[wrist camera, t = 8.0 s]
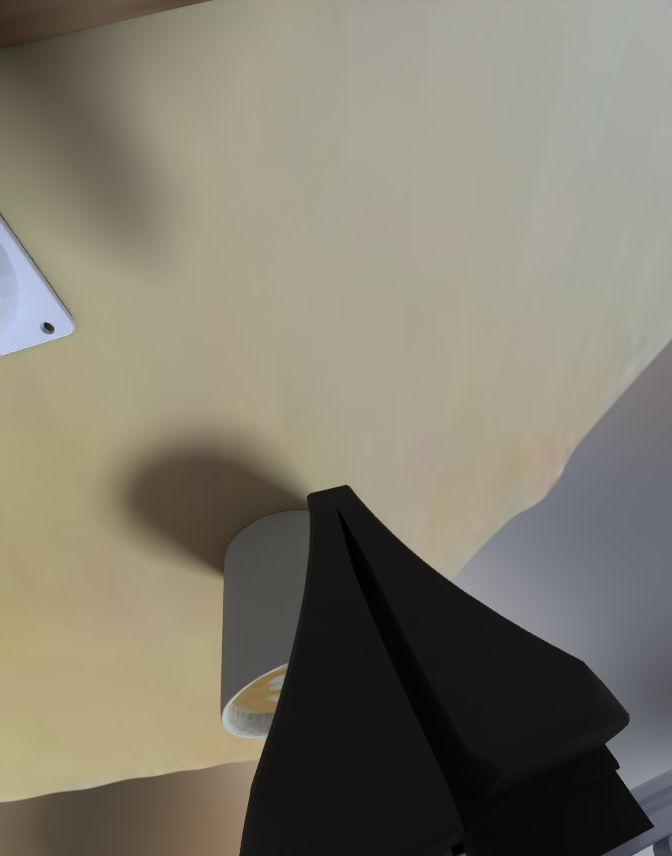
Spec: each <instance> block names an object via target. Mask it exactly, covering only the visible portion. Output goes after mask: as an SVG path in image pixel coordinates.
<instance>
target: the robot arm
mask: <svg viewBox="0 0 672 856" xmlns="http://www.w3.org/2000/svg"><path fill="white" fill-rule="evenodd" d="M44 322H47V323H50V324H51V325H52V326H53V327H54V329H55V331H54V332H51V331H48V330H47V329H46V328H45V326H44ZM75 328H76V327H75V322H74V320H73V318H72V317H71V315H70V314H69V312H68V311H67V310H66V308H65V307H64V305H63V304H62V302H61V301H60V300H59V298H58V297H57V295H56V294H55V293H54V291H53V290H52V288H51V287H50V285H49V284H48V283H47V281H46V280H45V278H44V277H43V275H42V274H41V273H40V271H39V270H38V268H37V267H36V265H35V264H34V263H33V261H32V260H31V258H30V257H29V256H28V254H27V253H26V251H25V250H24V248H23V247H22V246H21V244H20V243H19V241H18V240H17V238H16V237H15V236H14V234H13V233H12V231H11V230H10V228H9V227H8V226H7V224H6V223H5V221H4V220H3V219H2V217H1V216H0V356H2V355H5V354H8V353H11V352H15V351H18V350H21V349H24V348H28V347H31V346H34V345H37V344H41V343H44V342H47V341H50V340H54V339H57V338H60V337H63V336H67V335H69V334H70V333H72V332H73V331H74V330H75ZM307 502H308V508H309V514H310V540H309V556H308V564H307V573H306V581H305V588H304V594H303V600H302V605H301V610H300V616H299V621H298V625H297V630H296V634H295V639H294V643H293V648H292V652H291V656H290V660H289V664H288V668H287V671H286V675H285V678H284V682H283V685H282V689H281V693H280V696H279V700H278V703H277V707H276V710H275V714H274V717H273V720H272V724H271V727H270V730H269V733H268V736H267V739H266V742H265V745H264V748H263V751H262V754H261V758H260V761H259V764H258V767H257V770H256V773H255V776H254V779H253V782H252V785H251V790H250V797H249V802H248V807H247V812H246V818H245V823H244V829H243V835H242V840H241V847H240V854H239V856H632V855H634V854H636V853H638V852H639V851H641V850H643V849H645V848H647V847H649V846H650V845H652V844H653V851H654V855H655V856H672V769H671V770H669V771H667V772H665V773H663V774H661V775H659V776H657V777H655V778H653V779H651V780H649V781H647V782H645V783H643V784H641V785H639V786H637V787H635V788H633V789H631V790H629V789H628V788H627V787H626V785H625V784H624V782H623V781H622V780H621V778H620V777H619V775H618V774H617V772H616V770H617V769H619V768H620V767H619V764H618V762H617V760H616V759H615V758H614V756H613V755H612V753H611V752H610V751H609V749H608V748H607V746H606V745H605V743H606V742H608V741H609V740H610V739H611V738H613V737H614V736H615V735H616V734H618V733H619V732H620V731H621V730H623V729H624V728H625V727H626V726H627V725H628V723H629V714H628V713H627V711H626V710H625V709H624V708H623V706H622V705H621V704H620V703H619V702H618V700H617V699H616V698H615V697H614V695H613V694H612V693H611V692H610V690H609V689H608V688H607V687H606V686H605V685H604V683H603V682H602V681H601V680H600V679H599V678H598V677H597V676H596V675H595V674H594V673H593V672H592V671H591V670H590V669H589V667H588V666H587V665H586V664H585V663H584V662H583V661H581V660H579V659H578V658H576V657H574V656H572V655H570V654H568V653H566V652H564V651H562V650H561V649H559V648H557V647H555V646H553V645H551V644H549V643H548V642H546V641H544V640H542V639H540V638H539V637H537V636H535V635H533V634H532V633H530V632H528V631H526V630H525V629H523V628H521V627H520V626H518V625H516V624H514V623H513V622H511V621H510V620H508V619H506V618H504V617H503V616H501V615H500V614H498V613H497V612H495V611H493V610H492V609H490V608H489V607H487V606H486V605H484V604H483V603H481V602H480V601H478V600H476V599H475V598H474V597H472V596H471V595H469V594H467V593H466V592H464V591H463V590H461V589H460V588H459V587H457V586H456V585H454V584H453V583H452V582H450V581H449V580H448V579H446V578H445V577H444V576H442V575H441V574H440V573H438V572H437V571H436V570H435V569H433V568H432V567H431V566H429V565H428V564H427V563H426V562H424V561H423V560H422V559H421V558H420V557H418V556H417V555H416V554H415V553H414V552H413V551H411V550H410V549H409V548H408V547H407V546H406V545H405V544H403V543H402V542H401V541H400V540H399V539H398V538H397V537H396V536H395V535H394V534H393V533H392V532H391V531H390V530H389V529H388V528H387V527H386V526H385V525H384V524H383V523H382V522H381V521H380V520H379V519H378V518H377V517H376V516H375V515H374V514H373V513H372V512H371V511H370V510H369V509H368V508H367V507H366V506H365V504H364V503H363V502H362V501H361V500H360V499H359V497H358V496H357V495H356V494H355V493H354V491H353V490H352V489H351V487H350V486H348V485H343V486H339V487H335V488H331V489H327V490H323V491H318V492H314V493H310V494H309V495H308V496H307Z"/></svg>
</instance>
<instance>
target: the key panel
mask: <svg viewBox="0 0 672 856" xmlns="http://www.w3.org/2000/svg"><path fill="white" fill-rule="evenodd" d="M206 1H210V0H0V48H2V47H7V46H11V45H15V44H20V43H24V42H29V41H33V40H37V39H42V38H46V37H51V36H55V35H60V34H64V33H68V32H73V31H77V30H82V29H86V28H91V27H95V26H99V25H104V24H108V23H113V22H117V21H122V20H126V19H130V18H135V17H139V16H144V15H148V14H152V13H157V12H161V11H166V10H170V9H175V8H179V7H183V6H188V5H192V4H197V3H201V2H206Z"/></svg>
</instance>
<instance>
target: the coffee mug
mask: <svg viewBox="0 0 672 856" xmlns="http://www.w3.org/2000/svg"><path fill="white" fill-rule="evenodd" d="M309 540H310V514H309V511H308V510H291V511H284V512H279V513H274V514H271V515H269V516H266V517H263V518H261V519H259V520H257V521H255V522H253V523H252V524H250V525H248V526H247V527H245V528H244V529H243V530H242V531H240V532H239V533H238V534H237V535H236V536H235V538H234V539H233V540H232V542H231V543H230V544H229V546H228V548H227V551H226V553H225V558H224V592H223V631H222V669H221V722H222V725H223V727H224V728H225V729H226V730H227V731H228V732H229V733H231V734H234V735H236V736H240V737H245V738H267V736H268V733H269V730H270V727H271V724H272V720H273V717H274V714H275V710H276V707H277V703H278V700H279V696H280V693H281V689H282V685H283V682H284V678H285V675H286V671H287V668H288V664H289V660H290V656H291V652H292V648H293V643H294V639H295V634H296V630H297V625H298V621H299V616H300V610H301V605H302V600H303V594H304V588H305V581H306V573H307V564H308V556H309Z"/></svg>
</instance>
